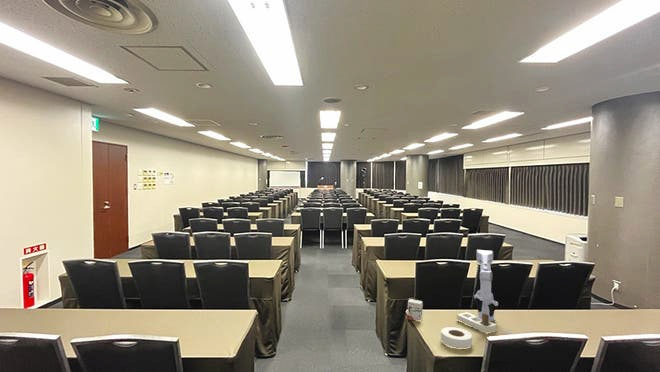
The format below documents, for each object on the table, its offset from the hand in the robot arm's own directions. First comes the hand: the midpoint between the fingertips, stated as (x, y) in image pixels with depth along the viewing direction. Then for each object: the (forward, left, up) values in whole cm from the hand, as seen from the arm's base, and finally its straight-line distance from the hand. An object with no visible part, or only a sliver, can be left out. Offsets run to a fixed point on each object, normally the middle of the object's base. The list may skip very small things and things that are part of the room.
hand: (485, 313), depth 192 cm
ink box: (+27, -30, -10) cm, 42 cm away
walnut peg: (0, 0, -8) cm, 9 cm away
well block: (0, -6, -10) cm, 12 cm away
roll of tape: (+28, +3, -10) cm, 30 cm away
